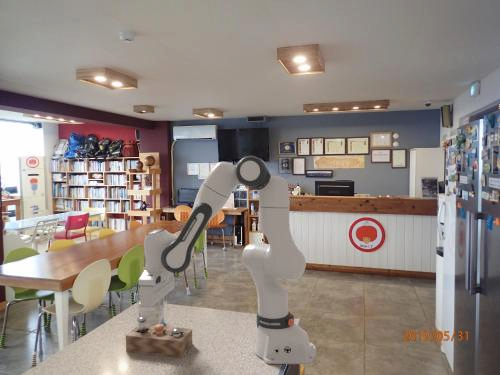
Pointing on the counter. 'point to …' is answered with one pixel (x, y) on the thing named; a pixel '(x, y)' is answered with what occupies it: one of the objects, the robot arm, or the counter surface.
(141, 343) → the block
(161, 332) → the terracotta plug
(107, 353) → the counter surface
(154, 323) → the ink box
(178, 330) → the grey plug near
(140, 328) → the grey plug far
